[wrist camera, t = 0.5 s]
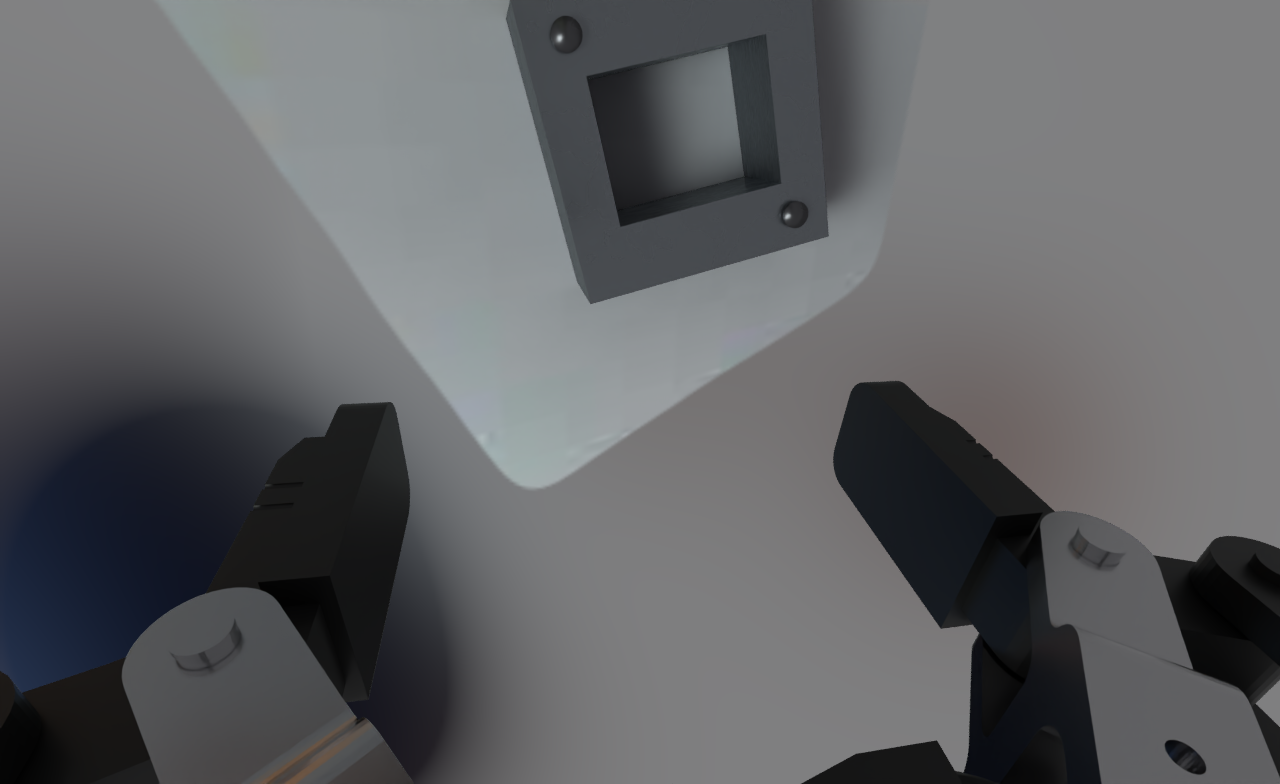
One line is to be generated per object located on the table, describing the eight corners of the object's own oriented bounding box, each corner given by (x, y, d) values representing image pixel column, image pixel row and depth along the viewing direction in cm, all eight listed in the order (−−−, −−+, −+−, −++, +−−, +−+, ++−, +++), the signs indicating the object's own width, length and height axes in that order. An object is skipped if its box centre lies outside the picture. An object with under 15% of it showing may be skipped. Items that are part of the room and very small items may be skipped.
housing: (506, 18, 30) (510, -3, 25) (762, -38, 32) (811, -68, 27) (577, 282, 36) (591, 306, 31) (788, 223, 38) (832, 237, 33)
